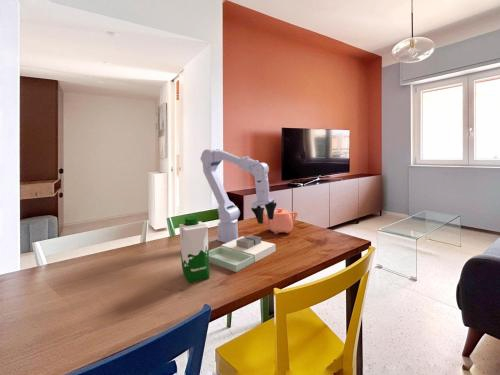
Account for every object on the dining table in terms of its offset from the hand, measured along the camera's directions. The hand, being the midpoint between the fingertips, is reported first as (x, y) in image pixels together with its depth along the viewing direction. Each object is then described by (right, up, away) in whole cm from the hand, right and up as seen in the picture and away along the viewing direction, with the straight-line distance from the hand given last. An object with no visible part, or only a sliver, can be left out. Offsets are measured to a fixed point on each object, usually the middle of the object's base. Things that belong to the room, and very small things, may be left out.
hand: (265, 221), depth 118 cm
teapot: (+8, -8, +22) cm, 25 cm away
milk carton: (-25, -16, -26) cm, 40 cm away
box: (-15, -14, -14) cm, 25 cm away
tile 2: (-6, -9, -3) cm, 11 cm away
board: (-8, -12, -5) cm, 15 cm away
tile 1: (-9, -9, -7) cm, 15 cm away
